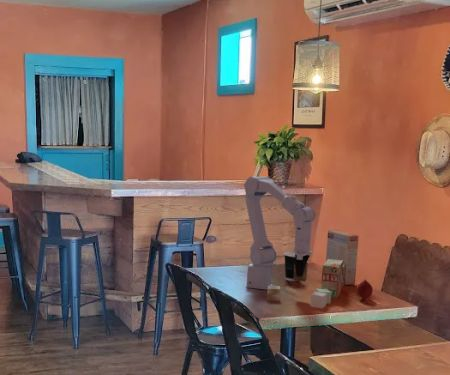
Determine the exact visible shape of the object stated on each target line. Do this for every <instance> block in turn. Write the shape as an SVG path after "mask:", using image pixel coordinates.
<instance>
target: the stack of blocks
mask: <svg viewBox="0 0 450 375" xmlns="http://www.w3.org/2000/svg"><path fill="white" fill-rule="evenodd" d="M321 273H322V274H321V286H320V289H328V290H329V291H330V292H331V298H333V299H334V298H335V299H337V297H338V296H339V295H340V293H341V291H342V290H343V288H344V286H345V285H344V277H345V264H344V263H343V261H342V260H333V259H328V260H327V261H326V260H325V262H324V263H323V264H322V272H321Z"/></svg>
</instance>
